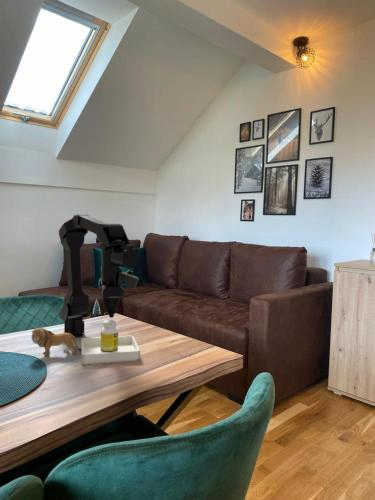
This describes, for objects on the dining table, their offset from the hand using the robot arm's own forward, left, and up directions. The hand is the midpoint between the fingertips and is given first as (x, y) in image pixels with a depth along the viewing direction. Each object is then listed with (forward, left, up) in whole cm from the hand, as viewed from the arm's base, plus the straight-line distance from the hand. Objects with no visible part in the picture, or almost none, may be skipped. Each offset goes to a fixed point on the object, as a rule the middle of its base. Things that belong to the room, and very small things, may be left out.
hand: (110, 313), depth 118 cm
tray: (0, 0, -13) cm, 13 cm away
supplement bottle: (0, 0, -12) cm, 13 cm away
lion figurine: (-16, +2, -13) cm, 21 cm away
